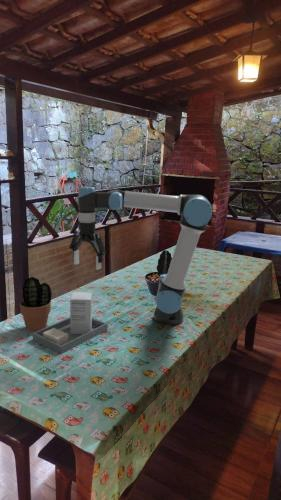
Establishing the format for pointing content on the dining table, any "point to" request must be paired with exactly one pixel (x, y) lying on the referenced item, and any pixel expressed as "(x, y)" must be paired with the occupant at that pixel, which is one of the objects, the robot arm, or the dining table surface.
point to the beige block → (56, 336)
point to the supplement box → (80, 312)
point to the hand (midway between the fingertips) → (87, 266)
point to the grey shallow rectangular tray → (69, 335)
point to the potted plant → (35, 304)
